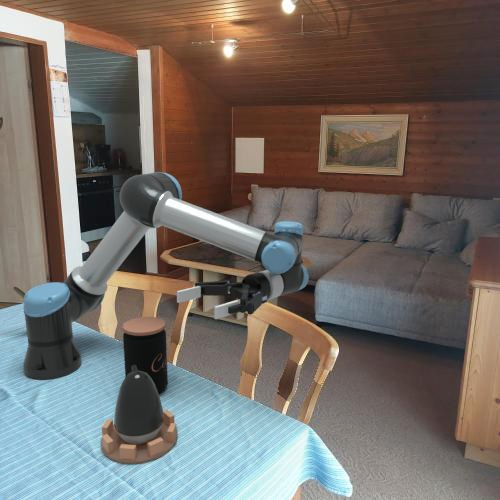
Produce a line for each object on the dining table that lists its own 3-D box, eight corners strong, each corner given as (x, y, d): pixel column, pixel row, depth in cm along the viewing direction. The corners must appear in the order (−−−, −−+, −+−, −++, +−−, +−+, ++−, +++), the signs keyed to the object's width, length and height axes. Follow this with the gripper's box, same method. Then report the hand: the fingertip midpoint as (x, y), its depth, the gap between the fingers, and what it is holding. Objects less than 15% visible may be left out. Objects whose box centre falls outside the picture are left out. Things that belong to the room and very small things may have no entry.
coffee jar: (158, 402, 112) (155, 334, 108) (118, 397, 114) (114, 330, 110) (173, 381, 122) (171, 318, 118) (137, 376, 124) (133, 315, 121)
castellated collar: (89, 435, 99) (88, 422, 98) (155, 409, 109) (154, 397, 108) (120, 475, 87) (119, 460, 86) (191, 442, 97) (191, 428, 96)
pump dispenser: (159, 418, 104) (157, 357, 101) (168, 445, 95) (165, 378, 91) (113, 427, 101) (109, 364, 97) (117, 456, 91) (113, 387, 88)
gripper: (298, 313, 109) (232, 337, 94) (228, 288, 126) (164, 305, 111) (300, 283, 107) (233, 303, 92) (229, 262, 124) (163, 276, 110)
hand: (195, 304), depth 102 cm, fingers open, 13 cm apart
